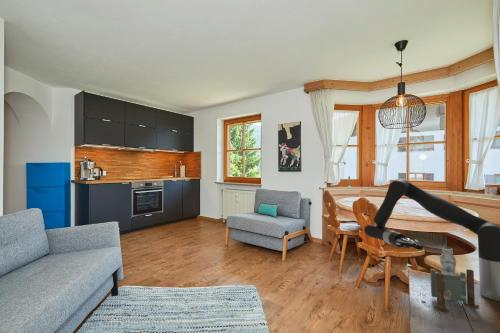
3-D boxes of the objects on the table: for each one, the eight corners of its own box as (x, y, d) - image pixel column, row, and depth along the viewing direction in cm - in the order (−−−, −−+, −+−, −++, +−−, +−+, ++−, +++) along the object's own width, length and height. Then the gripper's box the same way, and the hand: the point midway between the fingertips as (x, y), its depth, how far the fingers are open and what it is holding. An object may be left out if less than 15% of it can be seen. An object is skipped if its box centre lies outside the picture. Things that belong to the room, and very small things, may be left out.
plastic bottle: (461, 293, 118) (459, 250, 119) (444, 292, 120) (443, 250, 120) (453, 287, 125) (451, 246, 125) (437, 286, 126) (436, 246, 127)
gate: (465, 300, 109) (464, 272, 109) (466, 302, 108) (465, 274, 108) (431, 295, 114) (430, 268, 114) (432, 296, 113) (431, 270, 113)
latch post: (442, 306, 107) (441, 271, 107) (451, 312, 103) (450, 275, 103) (433, 308, 106) (432, 272, 106) (443, 313, 102) (441, 276, 102)
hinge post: (470, 302, 110) (468, 268, 110) (479, 307, 106) (477, 271, 107) (463, 303, 109) (462, 269, 109) (472, 308, 106) (470, 272, 106)
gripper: (383, 232, 136) (409, 240, 119) (404, 230, 138) (432, 239, 121) (383, 245, 136) (409, 256, 119) (404, 244, 138) (433, 254, 121)
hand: (421, 247), depth 120 cm, fingers closed
